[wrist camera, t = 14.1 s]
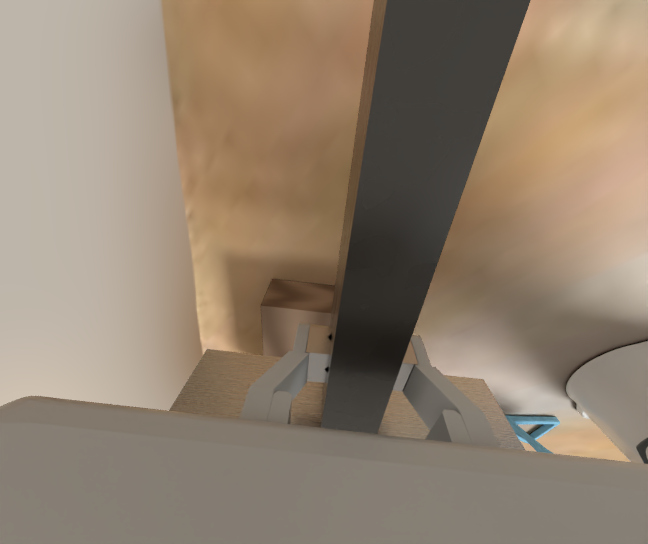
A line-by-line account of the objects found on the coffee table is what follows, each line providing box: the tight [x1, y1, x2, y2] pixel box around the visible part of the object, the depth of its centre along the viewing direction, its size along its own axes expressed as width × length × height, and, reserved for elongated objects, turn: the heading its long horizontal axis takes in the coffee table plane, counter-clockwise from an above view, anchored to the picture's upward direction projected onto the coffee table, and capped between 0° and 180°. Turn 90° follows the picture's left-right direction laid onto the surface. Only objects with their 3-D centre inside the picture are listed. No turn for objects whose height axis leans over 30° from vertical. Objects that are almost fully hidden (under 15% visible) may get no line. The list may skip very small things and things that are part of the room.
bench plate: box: [261, 279, 335, 357], centre depth 32 cm, size 16×16×5 cm
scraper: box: [169, 0, 530, 451], centre depth 9 cm, size 18×16×4 cm
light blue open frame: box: [505, 415, 560, 454], centre depth 39 cm, size 8×8×12 cm
